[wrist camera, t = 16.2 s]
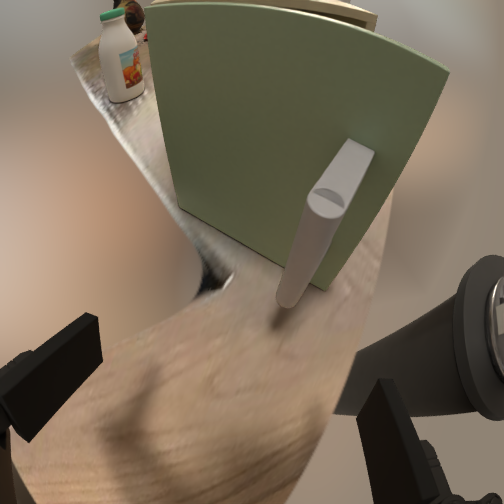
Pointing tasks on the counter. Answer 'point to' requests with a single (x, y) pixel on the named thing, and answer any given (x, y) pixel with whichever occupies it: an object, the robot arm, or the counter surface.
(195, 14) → the cupboard door
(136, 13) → the ceramic jug
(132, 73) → the milk bottle
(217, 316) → the counter surface
